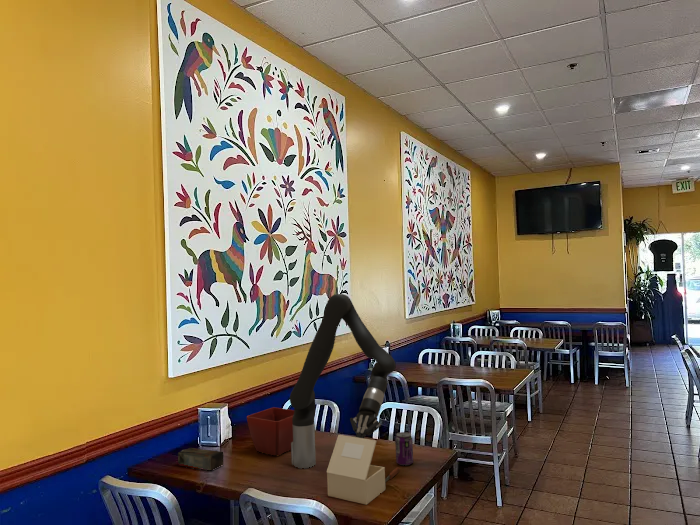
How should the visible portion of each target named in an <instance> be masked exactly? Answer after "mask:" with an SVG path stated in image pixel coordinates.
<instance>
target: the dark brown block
mask: <svg viewBox="0 0 700 525" xmlns="http://www.w3.org/2000/svg"><path fill="white" fill-rule="evenodd" d="M178 463H179V464H184V465H188V466H193V467H198V468H203V469H208V470H213V469H215V468H217V467H219V466H221V465H223V466H224V451H219V450H218V451H217V450H211V449H203V448H202V449H201V448H195V447H189V448H186V449H182V450H180V451H179V452H177V464H178ZM217 469H218V468H217ZM215 470H216V469H215ZM213 471H214V470H213Z"/></svg>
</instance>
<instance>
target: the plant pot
mask: <svg viewBox="0 0 700 525" xmlns="http://www.w3.org/2000/svg"><path fill="white" fill-rule="evenodd" d="M293 415H294V409H288V408H281V407H275V406H273V407H270V408H267V409H264V410H261V411H258V412H255V413H251V414H250V415H249V414H248V415H247V416H246V421H247V426H248V430H249V435H250V437H251V440H252V443H253V445H254V448H255V451H256V452H257V451H259V452H263V453H267V454H266V455H268V454H271V455H270V456H272V455H280V454H282V453H284V452H286V451H288V452H290V451H291V442H293V424H292V418H293ZM289 450H290V451H289ZM259 452H258V453H259ZM263 453H262V454H263ZM286 453H287V452H286ZM284 454H285V453H284ZM282 455H283V454H282ZM280 456H281V455H280Z"/></svg>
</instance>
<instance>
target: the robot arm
mask: <svg viewBox="0 0 700 525" xmlns="http://www.w3.org/2000/svg"><path fill="white" fill-rule="evenodd" d="M324 309H325V310H324V313H323V316H322V319H321V322H320V324H319V327H318V328H317V330H316V333H315V335H314V338H313V340H312V342H311V344H310V347H309V349H308V351H307V354H306V358H305V360H304V363H303V366H302V370H301V372H300V375H299V376H298V378H297V381H296V383H295V385H294V387H293V389H292V390H291V392H290V394H289V402H290V405H291V407H292V408H294V409H293V410H294V415H293V418H292V424H293V442H291V450H290V451H291V466H293V465H294V466H295V468H296V467H298V469H302V468H304V469H310V468H313V467H314V465H315V466H316V464H317V463H316V440H315V439H316V437H315V436H316V434H315V432H316V431H315V417H316V393H315V390H314V389H315V385H316V384H317V381H318V379H319V378H320V375H321V374H322V373H323V371H324V369H325V368H326V366H327V364H328V362H329V360H330V357H331V355H332V352H333V350H334V347H335V342H336V337H337V336H336V334H337V331H338V327H339V325H340V323H341V321H342V320H343V321H344V322H345V323H346V325H347V327H348V328H349V329H350V332H351V333H352V335H353V338H354V341H355V342H356V344H357V345H358V347H359V348H360V349H361V350H360V351H362V352H363V354H364V355H365V357H366V358H368V359H372V358H373V360H375V361H376V362H375V363H374V364H373V366H372V369H371V374H370V381H369V383H368V386H367V388H366V391H365V393H364V395H363V398H362V401H361V404H360V406H359V410H358V413H356V416H355V417H350V418H349V422H350V424H351V427H352V430H353V432H354V433H355V437H357V438H364V439H365V437H366V436H371V435H372V434H373V433H374V432H376V431H377V430H378V429H379V428H380V427H381V426H382V425H381V423H380V422H379V421H378V416H379V414H380V410H381V407H382V405H383V402H384V397H385V393H386V391H387V387H388V382H387V378H388V376H389V375H391V374H392V373H394V371H396V361H395V359H394V358H393V357H392V355H391V354H390V353H388V352H387V351H386V350H385V349H384V348H383V347H382V346H381V345H380V344H379V343H378V341H377V340H376V338H375V337H374V336H373V334H372V333H371V332H370V331H369V329H368V328H367V326H366V325H365V323H364V321H363V320H362V318H361V317H360V316H359V313H358V312H357V310H356V308H355V306H354V304H353V302H352V299H351V298H350V297H349V296H348V295H346V294H344V293H335V294H333V295H331V296H330V297H329V298H328V299H327V302H326V305H325V308H324ZM294 466H293V467H294ZM312 466H313V467H312ZM309 467H310V468H309Z"/></svg>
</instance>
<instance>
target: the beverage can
mask: <svg viewBox="0 0 700 525" xmlns="http://www.w3.org/2000/svg"><path fill="white" fill-rule="evenodd" d="M394 440H395V461H396V462H395V463H396V464H398V465H400V466H404V465H405V467H407V466H410V465H411V464H413V463H414V450H413V448H414V446H413V437H412V434H411V433H410V432H406V431H402V432H397V433H396V434H395V439H394Z"/></svg>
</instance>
